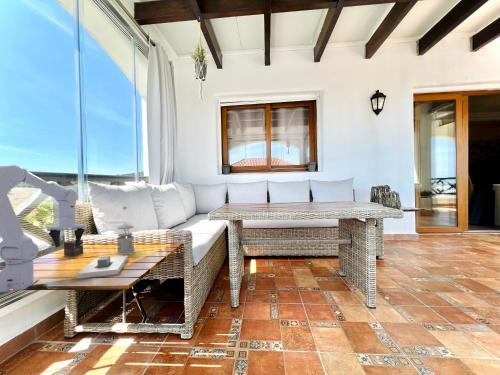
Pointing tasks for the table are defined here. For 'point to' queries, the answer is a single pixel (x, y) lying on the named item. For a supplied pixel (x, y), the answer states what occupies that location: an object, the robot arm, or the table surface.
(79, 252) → the box
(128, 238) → the french press
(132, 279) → the table surface
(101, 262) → the block
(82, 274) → the base plate
